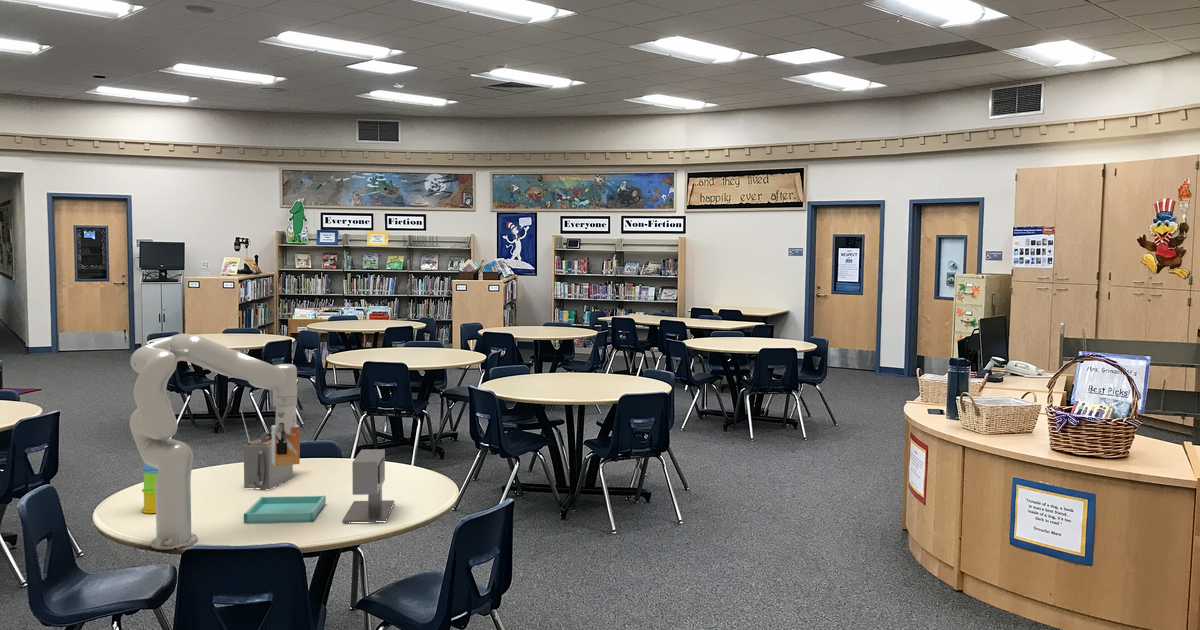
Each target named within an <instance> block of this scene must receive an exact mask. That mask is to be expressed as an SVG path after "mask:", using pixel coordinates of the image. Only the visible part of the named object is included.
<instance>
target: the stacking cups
mask: <svg viewBox="0 0 1200 630" xmlns="http://www.w3.org/2000/svg"><path fill="white" fill-rule="evenodd" d="M141 472H142V473H143V488H142V489H141V492H142V493H143V507H142V509H141V512H142V513H145V514H156V495H155V487H156V480H157V476H158V472H159V469H157V468H154V467H151V466H149V465H147V464H146V463H145V462H144V461H143V468H142V469H141Z"/></svg>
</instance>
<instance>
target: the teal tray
mask: <svg viewBox="0 0 1200 630" xmlns="http://www.w3.org/2000/svg"><path fill="white" fill-rule="evenodd" d="M326 497H327V496H326V495H297V496H295V495H293V496H292V495H290V496H285V495H284V496H260V497H259V499H258V500H256V501H255V502H254V503H253V504H252V505H251V506H250V508H248V509H247V511H246V512H244V513H243V524H267V523H269V524H270V523H271V524H274V523H275V524H276V523H279V522H282V523H313V522H314V521H315V520H316V518H317V517H318V516H319V514H320V513H321V511H322V510H323V509H324V507H325V506H324V505H326V504H325V503H326V502H327V501H326V500H327V498H326ZM323 506H324V507H323ZM321 509H322V510H321ZM319 512H320V513H319ZM314 519H315V520H314Z"/></svg>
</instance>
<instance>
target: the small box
mask: <svg viewBox="0 0 1200 630" xmlns="http://www.w3.org/2000/svg"><path fill="white" fill-rule="evenodd" d="M300 427H301V426H300V425H298V423H297V424H296V425H294V426H293V427H292V434H291V435H288V434H287V439H286V442H287V454H286V455H278V454H277V435H276V430H275V424H273V425H271V432H272V463H273V464H274V465H275V466H282V465H300V457H301V456H300V450H301V449H300V447H301V446H300V445H301V443H300V442H301V441H300V440H301V439H300V438H301V437H300V436H301V435H300V433H301V428H300ZM282 433H285V432H284V428H283V431H282ZM283 437H284V436H283Z"/></svg>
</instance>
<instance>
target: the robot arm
mask: <svg viewBox="0 0 1200 630" xmlns="http://www.w3.org/2000/svg"><path fill="white" fill-rule="evenodd" d="M181 361H183V362H188V363H191V364H194V365H196V366H199V367H201V368H203V369H206V370H209V371H211V372H214V373H216V374H219V375H222V376H225V377H228V378H234V379H239V380H243V381H247V382H248V384H249V385H251V386H253V387H254V388H256V389H257V388H258V389H263V390H268V391H269V390H270V391H272V393H273V394H272V395H273V397H272V400H273V403H272V404H273V405H272V406H273V407H275V420H274V421H275V422H274V423H275V424H274V425H275V430H276V435H277V454H278V455H286V454H287V442H286V439H287V434H288V435H291V434H292V427H293V426H294V425H296V424H297V425H298V422H297V409H296V406H297V405H298V383H297V382H298V379H297V378H298V374H297V373H298V370H297V368H298V367H296V365H295V364H292V363H280V364H275V365H273V364H271V363H268V362H267V361H263V360H261V359H258V358H255V357H252V356H250V355H248V354H245V353H243V352H241V351H238V350H234V349H233V348H229V347H227V346H224V345H222V344H220V343H218V342H215V341H213V340H210V339H208V338H206V337H203V336H202V335H201V336H200V335H197V334H190V333H177V334H174V335H171V336H168V337H166V338H163V339H160V340H158V341H154V342H152V343H148V344H147V345H143V346H141V347H139V348H137V349H136V350H135V351H133V353H132V354H131V356H130V366H131V368H132V369H133V371H134V372H136V373H138V376H137V379H136V381H135V384H134V387H133V397H134V401H135V404H136V407H137V408H136V409H135V410H134V411H133V412H132V414H131V415H130V417H129V428H130V432H131V435H132V437H133V440H134V443H135V446H136V447H137V450H138V453H139V455H140V457H141V460H142V461H143V463H144V462H145V463H146V464H147V465H149V466H151V467H154V468H157V469H159V472H158V476H157V480H156V487H155V495H156V513H155V525H156V528H155V530H156V531H155V532H156V535H155V536H156V537H155V538H153V539H152V540H151V541H150V546H151V548H153V549H156V550H161V551H162V550H164V551H167V550H175V549H174V548H177V549H180V548H179V547H182V546H186V547H189V546H192V545H194V544H195V543H196V542H197V541H198V535H197V534H195V533H192V491H191V488H192V487H191V484H192V483H191V482H192V481H191V479H192V478H191V477H192V468H193V464H194V453H193V450H192V449H191V447H190V446H189V445H188V444H187V443H185V442H183V441H180V440H177V439H174V438H173V437H174V436H175V434H176V433H177V431H178V421H177V418H176V415H175V412H174V409H173V407H172V404H171V401H170V399H169V395H168V391H167V387H168V382H169V379H171V377H172V375H173V374H174V372H175V371H176V369H177V365H178V362H181ZM283 428H284V432H285V433H282V431H283ZM283 436H284V437H283ZM191 544H192V545H191ZM188 545H189V546H188Z"/></svg>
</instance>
